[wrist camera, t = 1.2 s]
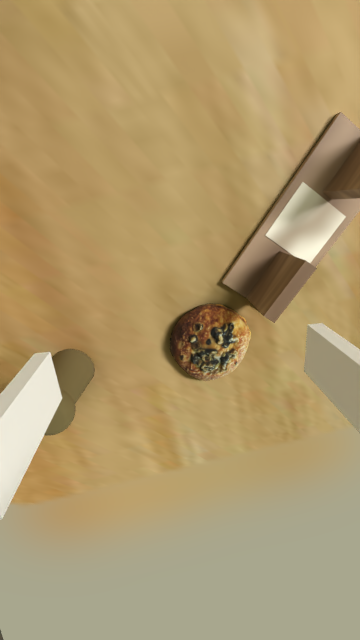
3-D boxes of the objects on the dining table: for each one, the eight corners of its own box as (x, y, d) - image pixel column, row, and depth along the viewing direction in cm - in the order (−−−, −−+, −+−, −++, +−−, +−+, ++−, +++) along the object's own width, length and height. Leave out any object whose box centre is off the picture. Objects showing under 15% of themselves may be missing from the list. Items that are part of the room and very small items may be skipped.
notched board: (221, 281, 39) (236, 298, 31) (336, 114, 33) (387, 87, 26) (274, 315, 41) (299, 339, 34) (391, 164, 35) (452, 153, 28)
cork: (95, 350, 41) (74, 398, 31) (94, 388, 43) (74, 445, 33) (48, 347, 40) (11, 395, 30) (50, 386, 42) (16, 443, 32)
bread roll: (160, 311, 40) (167, 325, 35) (239, 291, 41) (256, 303, 36) (176, 380, 44) (183, 401, 39) (247, 361, 45) (262, 378, 41)
